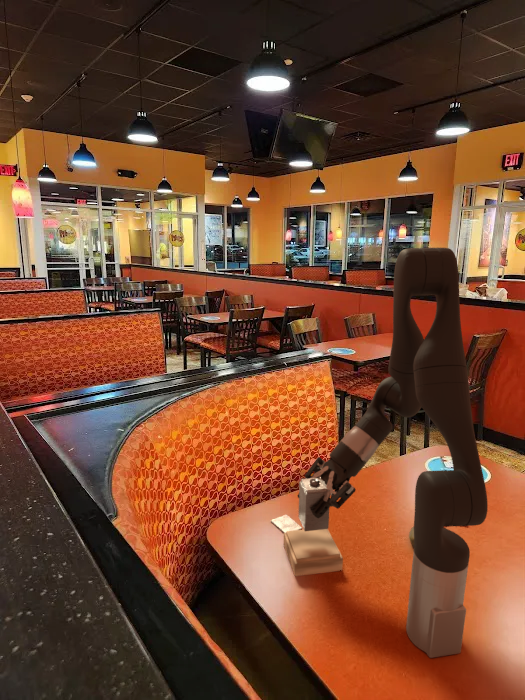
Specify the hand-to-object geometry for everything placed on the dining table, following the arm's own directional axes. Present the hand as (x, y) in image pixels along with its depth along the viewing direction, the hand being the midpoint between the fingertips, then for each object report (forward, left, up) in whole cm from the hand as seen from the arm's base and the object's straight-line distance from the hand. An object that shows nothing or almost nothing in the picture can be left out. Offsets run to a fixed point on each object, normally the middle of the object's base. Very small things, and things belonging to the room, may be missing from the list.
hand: (307, 507), depth 103 cm
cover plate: (+13, +2, -14) cm, 19 cm away
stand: (0, -1, -13) cm, 13 cm away
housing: (0, -2, -4) cm, 5 cm away
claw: (+3, -35, -14) cm, 38 cm away
